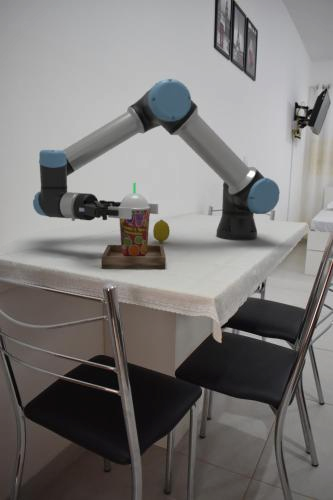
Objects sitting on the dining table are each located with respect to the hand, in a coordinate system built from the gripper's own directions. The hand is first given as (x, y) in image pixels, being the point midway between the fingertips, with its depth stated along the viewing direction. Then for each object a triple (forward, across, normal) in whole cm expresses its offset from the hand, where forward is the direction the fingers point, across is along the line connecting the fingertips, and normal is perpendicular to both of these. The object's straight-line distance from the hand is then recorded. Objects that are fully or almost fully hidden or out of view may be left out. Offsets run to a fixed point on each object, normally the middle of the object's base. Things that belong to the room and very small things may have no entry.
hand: (145, 211), depth 101 cm
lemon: (-10, -27, -14) cm, 32 cm away
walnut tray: (-3, 0, -14) cm, 14 cm away
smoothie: (-3, 0, -13) cm, 13 cm away
